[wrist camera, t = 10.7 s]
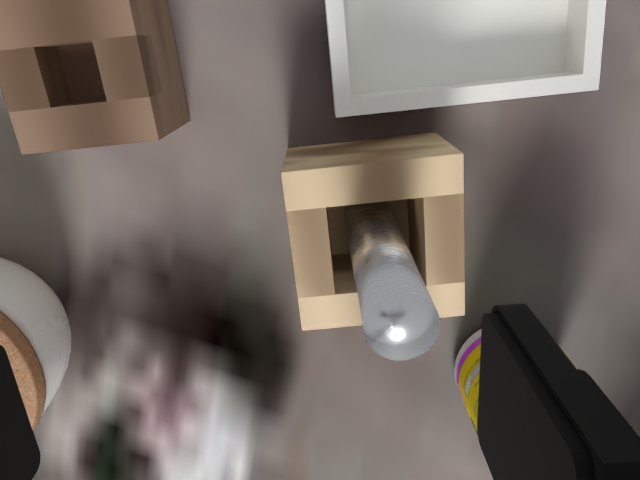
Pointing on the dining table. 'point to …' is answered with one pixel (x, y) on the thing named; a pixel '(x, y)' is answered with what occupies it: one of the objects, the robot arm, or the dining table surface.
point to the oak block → (368, 187)
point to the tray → (459, 51)
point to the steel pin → (389, 285)
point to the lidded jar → (33, 336)
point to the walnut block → (89, 73)
